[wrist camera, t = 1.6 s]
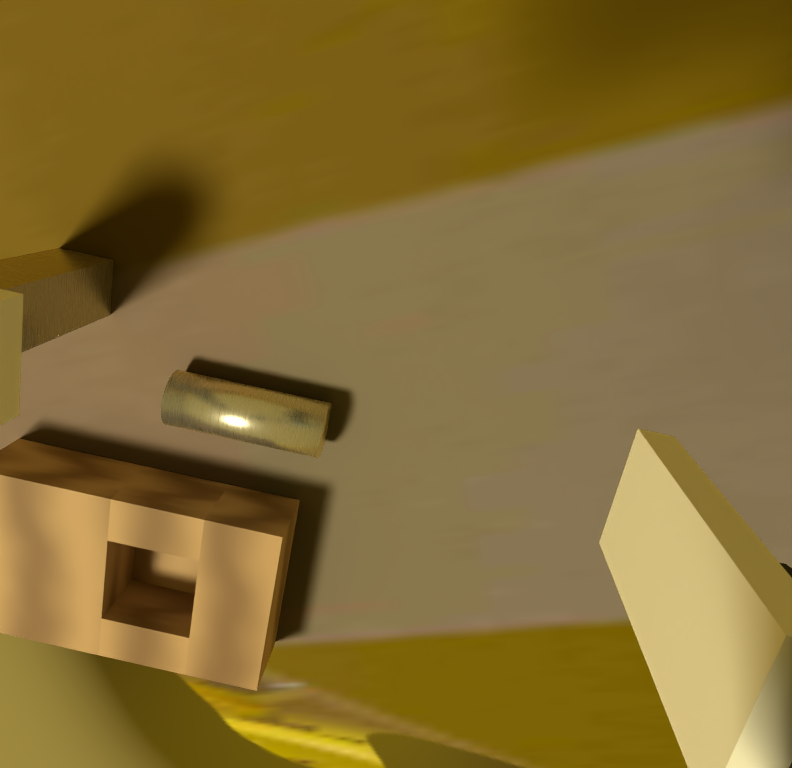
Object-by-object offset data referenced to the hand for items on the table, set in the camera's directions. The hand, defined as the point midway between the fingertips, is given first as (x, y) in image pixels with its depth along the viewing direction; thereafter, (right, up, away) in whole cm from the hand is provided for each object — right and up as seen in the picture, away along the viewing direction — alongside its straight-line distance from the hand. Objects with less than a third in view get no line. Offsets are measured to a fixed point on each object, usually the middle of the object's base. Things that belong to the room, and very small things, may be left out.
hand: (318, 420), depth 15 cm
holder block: (-16, -11, +35) cm, 40 cm away
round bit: (-8, -1, +31) cm, 32 cm away
